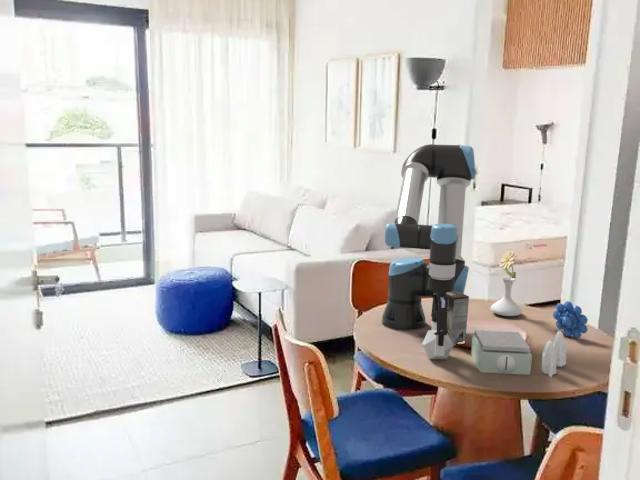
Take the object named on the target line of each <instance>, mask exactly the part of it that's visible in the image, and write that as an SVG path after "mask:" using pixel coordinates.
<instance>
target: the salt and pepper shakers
mask: <svg viewBox="0 0 640 480" xmlns="http://www.w3.org/2000/svg"><path fill="white" fill-rule="evenodd" d="M541 357H542V358H541V372H542V373H543V374H545V375H548V377H550V378H552V377H553V375H556V374H557V368H562V367H564V366H565V365H566V364H567V343H566V341H565V337H564V333H563V332H562V330H558V331H557V332H556V334H555V336H554V338H553V341H552V340H548V341H547V342H546V343H545V346H544V348H543V350H542V355H541Z"/></svg>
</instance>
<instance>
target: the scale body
mask: <svg viewBox="0 0 640 480" xmlns="http://www.w3.org/2000/svg"><path fill="white" fill-rule="evenodd" d="M470 352H471V353H470V355H471V357H472V358H473V361H474V363H475V365H476V367H477V369H478V371H479V373H482V374H483V373H485V374H504V375H505V374H506V375H527V376H530V375H531V369H532V358H533V354H532V353H531V351H530V352H518V351H496V350H483V349H482V347H481V345H480V343H479V342H478V340H477V338H476V336H475V334H473V335H472V336H471V350H470Z"/></svg>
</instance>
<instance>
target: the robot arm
mask: <svg viewBox="0 0 640 480" xmlns="http://www.w3.org/2000/svg"><path fill="white" fill-rule="evenodd" d="M475 162H476V161H475V151H474V148H473V147H472V146H470V145H462V144H456V145H454V144H430V143H429V144H425V145H422V146H420V147H418V148H416V149H415V150H414V151H412V152H411V153H410V154H409V155H408V156H407V157H406V159H405V160H404V163H403V164H402V167H401V172H400V174H401V177H402V182H401V186H400V192H399V198H398V201H397V207H396V211H395V217H394V221H393V222H389V223H388V222H387V224H386V226H385V229H384V243H385V245H386V246H387V247H391V248H398V249H400V248H401V249H418V250H429V261H428V262H429V263H426V262H425V260H424V259H423V258H422V257H416V256H415V257H414V256H413V257H412V256H409V257H401V258H397V259H394V260H392V261H391V262H390V264H389V271H388V273H387V274H388V289H387V291H388V292H387V303H386V304H385V307H384V311H383V313H382V315H381V323H382V324H383V326H385V327H387V328H389V329H394V330H400V331H416V330H417V331H418V330H420V329H423V328H424V327H425V326H426V316H425V312H424V309H423V305H422V304H423V303H422V298H432V302H431V303H432V304H431V306H432V307H431V313H430V316H431V317H430V318H431V329H430V330H437V332H435V333H434V335H436V339H435V356H444V352H445V336H446V335H447V306H448V297H447V295H446V293H447V292H451V291H453V290H456V291H458V292H460V293H462V294H465V291H466V284H467V280H468V274H469V269H470V267H469V266H468V265H466V260H465V259H464V258H463V257H462V245H463V231H464V230H463V229H464V219H465V218H464V217H465V215H464V214H465V201H466V190H467V188H469V186H470V185H471V182H472V180H475V178H476V165H475V164H476V163H475ZM429 178H433V179H434V178H435V179H436V184H437V185H438V186H439V187H440V192H439V193H440V194H439V203H438V217H437V218H438V219H437V223H435V224H432V225H431V224H430V225H429V224H419V221H420V215H421V214H420V213H421V209H422V202H423V196H424V188H425V184H426V182H427V181H428V179H429ZM441 330H443V331H441Z"/></svg>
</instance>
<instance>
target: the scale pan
mask: <svg viewBox="0 0 640 480" xmlns="http://www.w3.org/2000/svg"><path fill="white" fill-rule="evenodd" d="M474 335H475V336H476V338H477V340H478V342H479V343H480V345H481V347H482V349H483V350H496V351H518V352H530V353H531V347H530V345H528V343H527V342H526V340H525V339H524V337H523V336H522V334H521V333H520V332H519V331H503V330H502V331H501V330H500V331H499V330H481V329H480V330H478V329H477V330H474Z"/></svg>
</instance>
